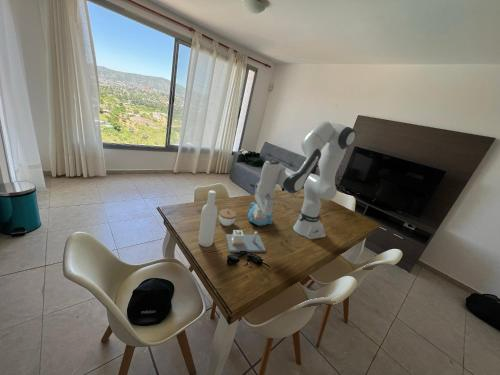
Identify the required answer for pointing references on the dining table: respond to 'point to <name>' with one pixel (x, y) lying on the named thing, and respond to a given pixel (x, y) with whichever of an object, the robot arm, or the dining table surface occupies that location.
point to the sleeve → (258, 213)
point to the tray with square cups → (246, 243)
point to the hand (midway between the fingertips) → (260, 213)
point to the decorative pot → (258, 222)
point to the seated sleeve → (237, 238)
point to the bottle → (208, 221)
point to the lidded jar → (227, 217)
